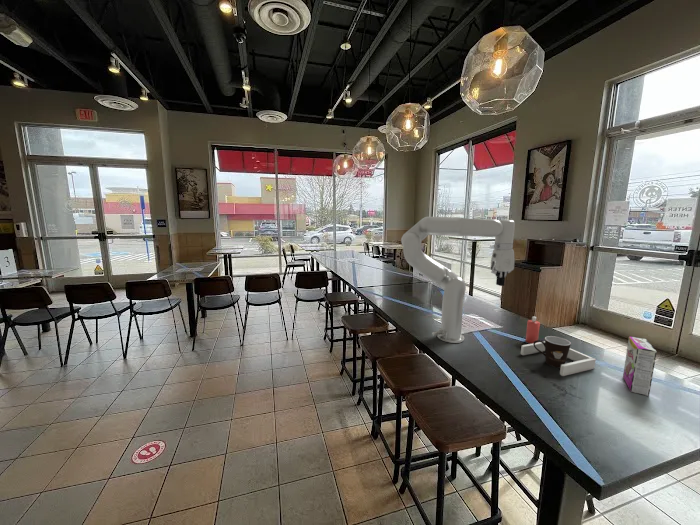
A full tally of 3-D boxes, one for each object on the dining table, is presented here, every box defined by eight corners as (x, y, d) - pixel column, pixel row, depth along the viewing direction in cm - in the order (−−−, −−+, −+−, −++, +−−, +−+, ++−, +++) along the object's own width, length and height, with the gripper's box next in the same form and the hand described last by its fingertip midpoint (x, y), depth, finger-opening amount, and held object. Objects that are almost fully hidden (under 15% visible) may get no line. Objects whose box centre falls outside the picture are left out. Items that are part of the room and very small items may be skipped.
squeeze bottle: (532, 344, 136) (535, 319, 134) (523, 340, 141) (525, 315, 139) (540, 343, 138) (543, 318, 135) (530, 339, 142) (533, 314, 140)
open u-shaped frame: (562, 376, 110) (564, 366, 109) (520, 354, 127) (521, 345, 126) (594, 368, 115) (595, 359, 114) (549, 348, 132) (550, 340, 132)
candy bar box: (621, 377, 109) (628, 335, 107) (639, 381, 107) (647, 338, 104) (629, 392, 100) (637, 347, 97) (649, 397, 97) (658, 351, 95)
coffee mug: (571, 364, 118) (574, 341, 116) (563, 371, 113) (566, 347, 111) (539, 353, 127) (541, 332, 126) (530, 359, 122) (533, 337, 120)
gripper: (497, 248, 129) (493, 288, 132) (522, 247, 133) (518, 285, 137) (484, 246, 136) (481, 284, 139) (509, 245, 141) (505, 282, 144)
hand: (500, 285), depth 138 cm, fingers closed
